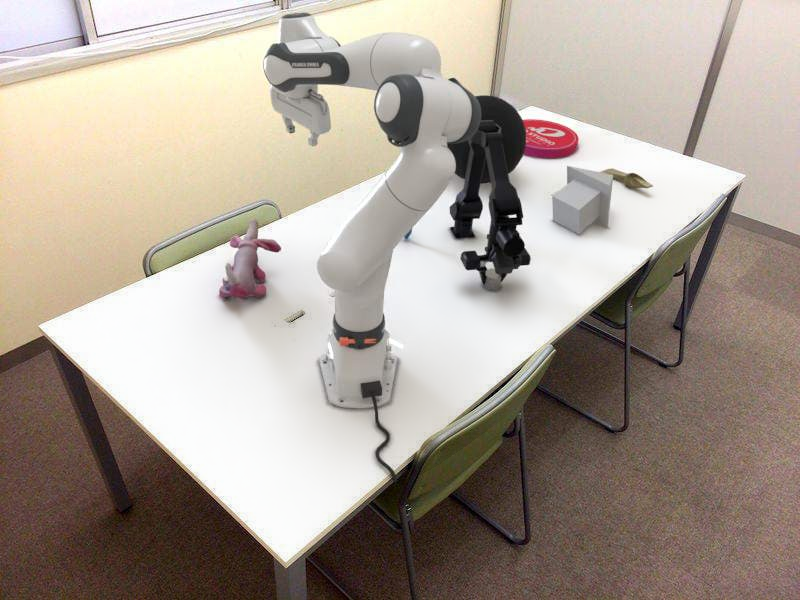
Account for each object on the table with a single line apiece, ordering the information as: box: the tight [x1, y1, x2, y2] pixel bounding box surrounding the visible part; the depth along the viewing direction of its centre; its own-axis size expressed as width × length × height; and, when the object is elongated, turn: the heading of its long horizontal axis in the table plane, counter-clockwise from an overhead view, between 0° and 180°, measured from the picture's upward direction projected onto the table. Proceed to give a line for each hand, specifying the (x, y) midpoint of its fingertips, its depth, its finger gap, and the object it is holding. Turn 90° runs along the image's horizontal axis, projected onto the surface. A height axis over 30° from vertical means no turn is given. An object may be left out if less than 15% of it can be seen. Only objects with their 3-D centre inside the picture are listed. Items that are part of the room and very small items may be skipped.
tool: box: [601, 167, 654, 189], centre depth 240 cm, size 22×6×5 cm, turn 26°
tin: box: [482, 268, 502, 292], centre depth 186 cm, size 5×5×4 cm
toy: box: [218, 218, 282, 301], centre depth 179 cm, size 19×24×15 cm
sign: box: [522, 118, 579, 159], centre depth 266 cm, size 30×4×30 cm
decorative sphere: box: [447, 94, 526, 185], centre depth 230 cm, size 30×30×30 cm
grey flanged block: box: [551, 165, 614, 235], centre depth 214 cm, size 17×24×18 cm
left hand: (301, 138), depth 165 cm, fingers open, 8 cm apart
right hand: (491, 282), depth 186 cm, fingers closed on tin, 5 cm apart
